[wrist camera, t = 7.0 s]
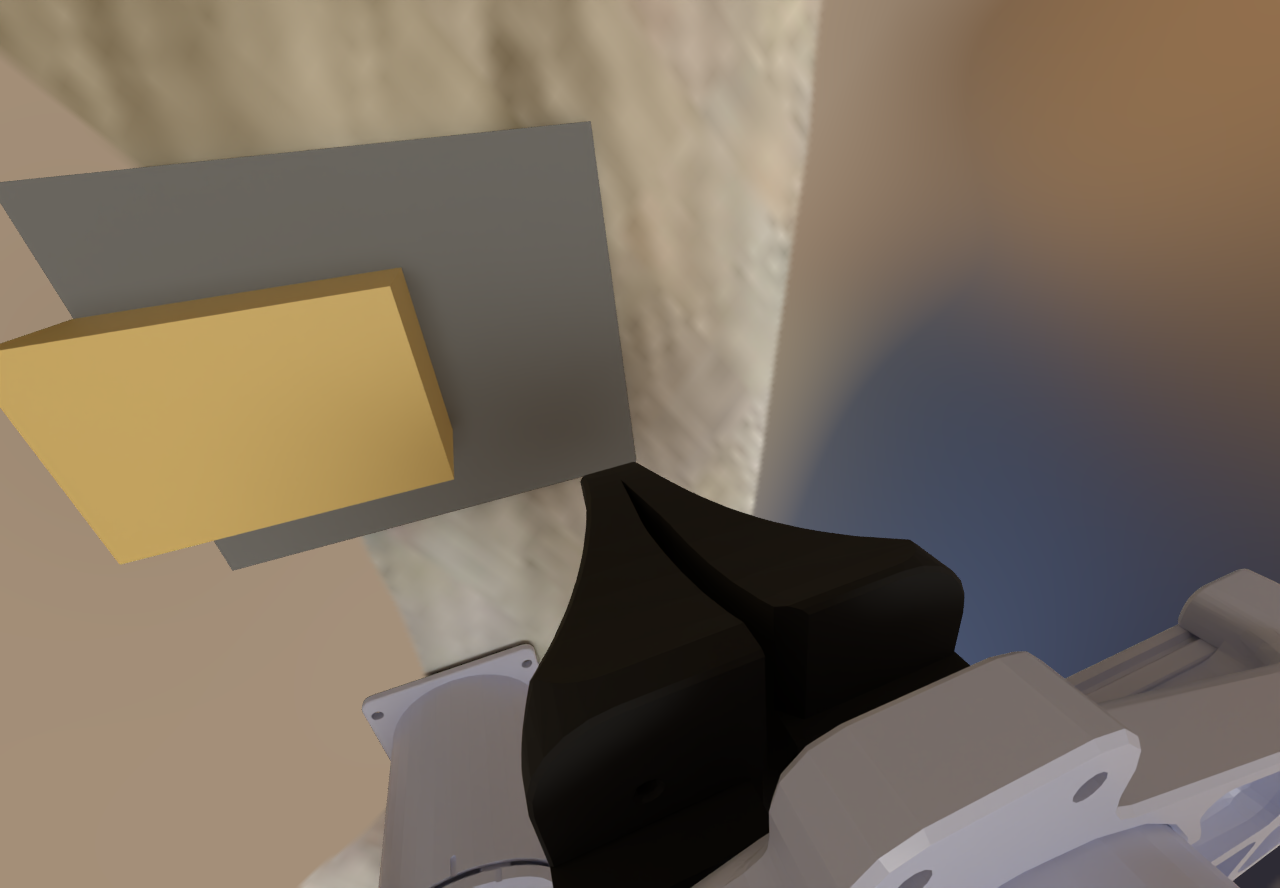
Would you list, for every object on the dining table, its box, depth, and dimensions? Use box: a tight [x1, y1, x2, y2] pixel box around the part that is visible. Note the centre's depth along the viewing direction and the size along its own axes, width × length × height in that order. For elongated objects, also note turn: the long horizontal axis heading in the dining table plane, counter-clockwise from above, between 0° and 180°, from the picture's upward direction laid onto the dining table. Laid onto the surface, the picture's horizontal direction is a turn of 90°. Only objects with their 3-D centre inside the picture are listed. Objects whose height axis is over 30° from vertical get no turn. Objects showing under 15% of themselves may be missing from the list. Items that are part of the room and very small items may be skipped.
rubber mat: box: [0, 121, 636, 570], centre depth 18 cm, size 13×16×1 cm
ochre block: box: [0, 267, 454, 564], centre depth 16 cm, size 6×4×9 cm
